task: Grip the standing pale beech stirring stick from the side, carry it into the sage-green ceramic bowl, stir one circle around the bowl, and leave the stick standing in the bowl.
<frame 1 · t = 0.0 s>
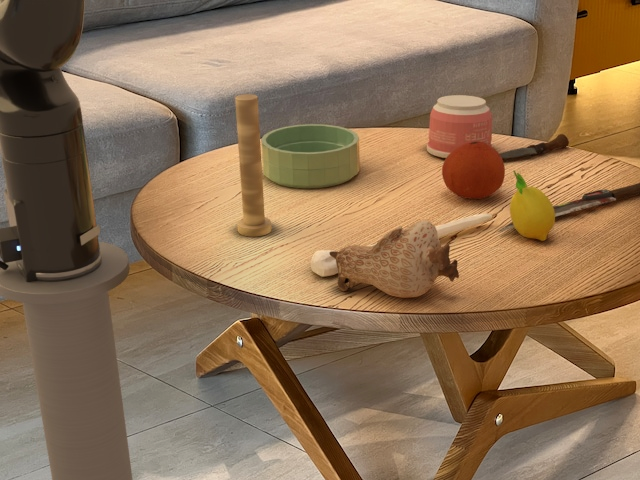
fruit: (472, 197, 156), on the table
container: (461, 99, 171), point 8 cm above the table
cream knobbed rod: (404, 247, 139), on the table
figurine: (455, 261, 123), point 5 cm above the table
stick: (254, 230, 144), on the table
knife: (516, 145, 174), point 1 cm above the table
knife 2: (488, 230, 142), point 1 cm above the table
lemon: (544, 241, 140), on the table
bowl: (311, 173, 165), on the table
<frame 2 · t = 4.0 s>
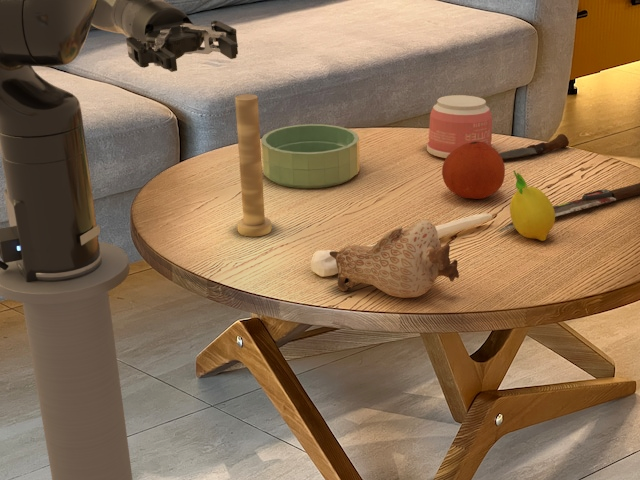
hand: (204, 57, 144), 21 cm above the table, tool horizontal, fingers open, 8 cm apart
nothing on the table moved.
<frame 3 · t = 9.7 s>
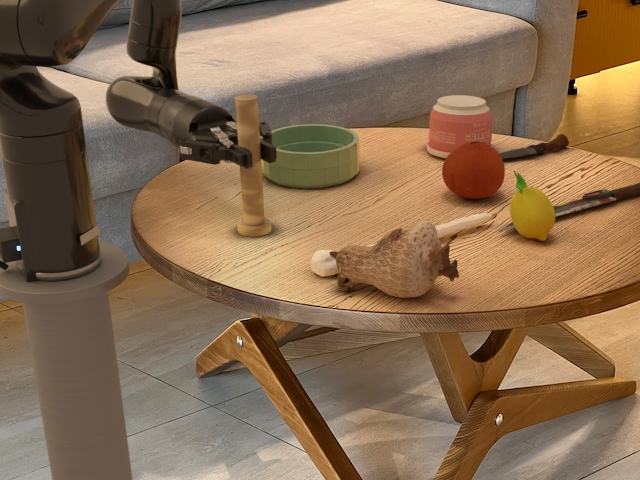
hand: (261, 157, 138), 11 cm above the table, tool horizontal, fingers closed on stick, 2 cm apart
stick: (254, 230, 144), on the table, touching gripper
everything else where it was.
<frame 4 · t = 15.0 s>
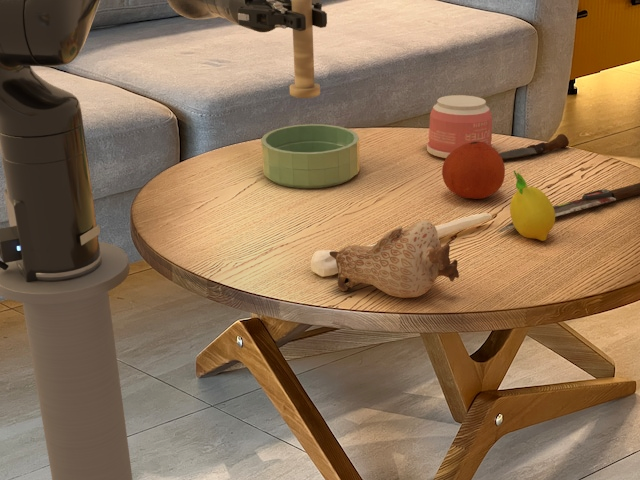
hand: (313, 21, 151), 24 cm above the table, tool horizontal, fingers closed on stick, 3 cm apart
stick: (305, 93, 158), point 13 cm above the table, touching gripper
everything else where it was.
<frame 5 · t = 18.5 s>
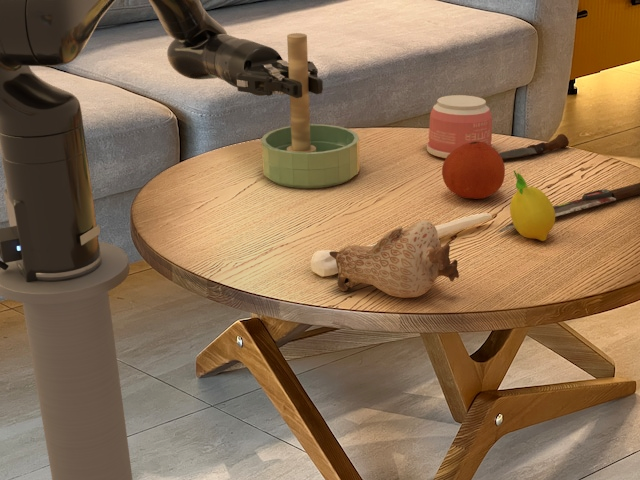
hand: (310, 88, 157), 14 cm above the table, tool horizontal, fingers closed on stick, 3 cm apart
stick: (301, 156, 164), point 3 cm above the table, touching gripper
everything else where it was.
when the fingers open (11 cm above the table, at t = 20.8 s): stick stays where it is, resting on bowl.
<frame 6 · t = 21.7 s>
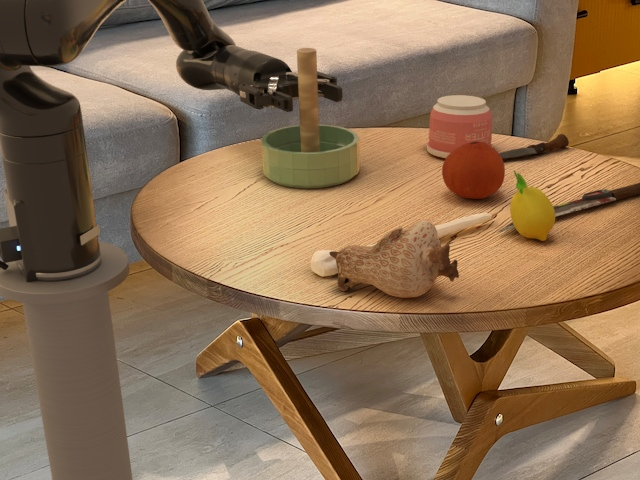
hand: (315, 99, 158), 12 cm above the table, tool horizontal, fingers open, 8 cm apart
stick: (311, 169, 165), point 1 cm above the table, touching bowl
everything else where it was.
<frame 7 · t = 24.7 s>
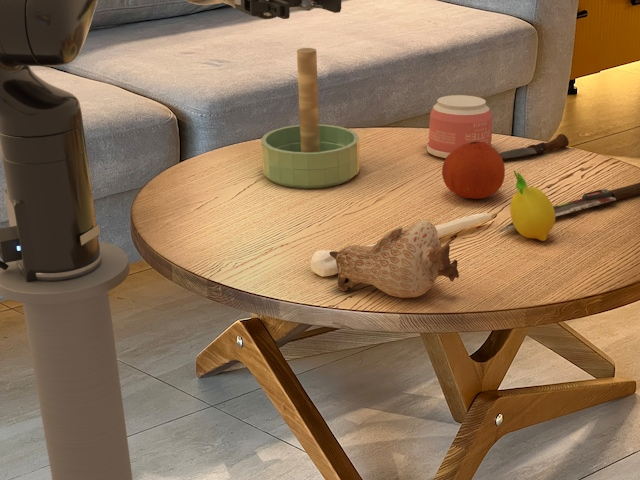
hand: (313, 8, 152), 25 cm above the table, tool horizontal, fingers open, 8 cm apart
nothing on the table moved.
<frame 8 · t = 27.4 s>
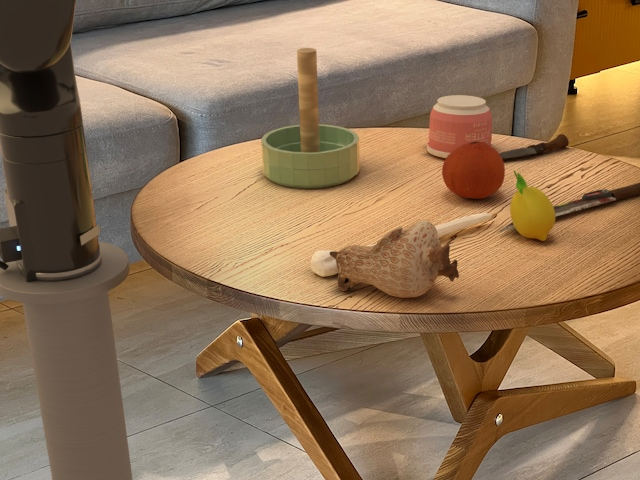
nothing on the table moved.
at the end: stick inside the target area in the bowl (0.1 cm from its centre), point 0.6 cm above the bowl's base; the gripper is holding nothing; stick moved 23.4 cm from its start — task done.
